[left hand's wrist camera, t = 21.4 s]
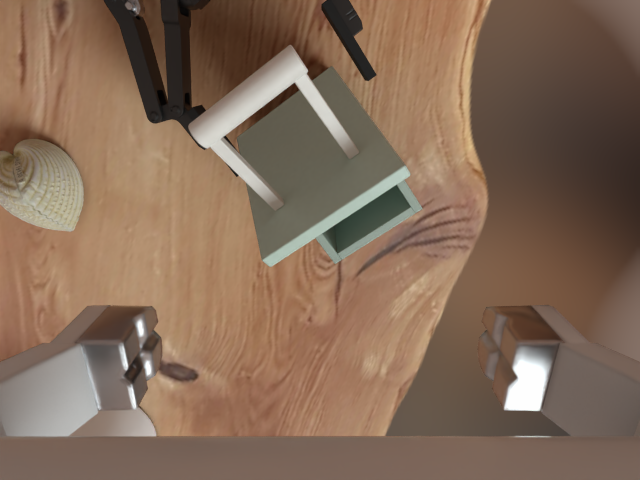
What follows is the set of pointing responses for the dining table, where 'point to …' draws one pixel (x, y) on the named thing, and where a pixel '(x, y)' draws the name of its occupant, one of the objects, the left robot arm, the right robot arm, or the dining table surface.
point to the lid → (300, 153)
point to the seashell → (41, 185)
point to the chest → (369, 222)
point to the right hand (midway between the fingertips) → (304, 126)
